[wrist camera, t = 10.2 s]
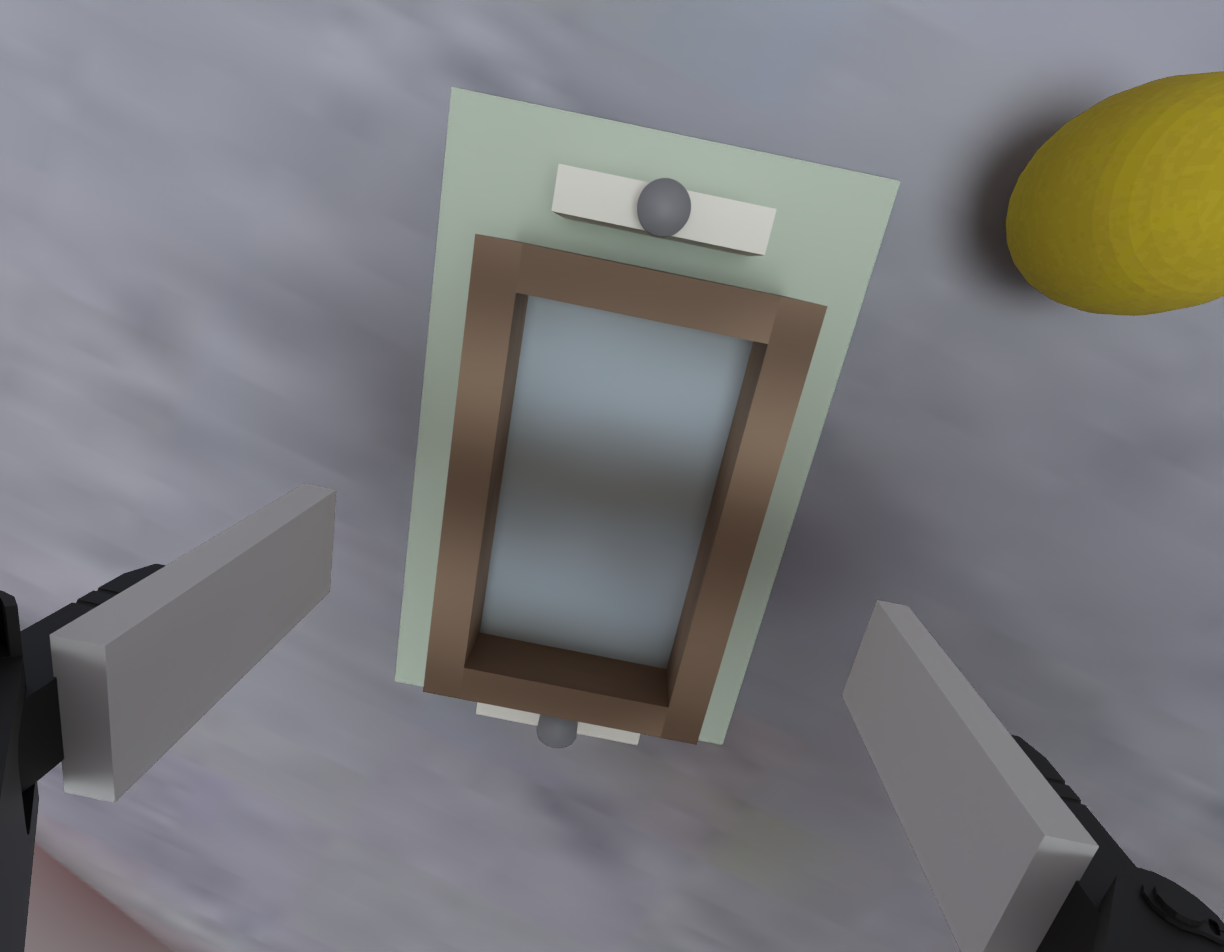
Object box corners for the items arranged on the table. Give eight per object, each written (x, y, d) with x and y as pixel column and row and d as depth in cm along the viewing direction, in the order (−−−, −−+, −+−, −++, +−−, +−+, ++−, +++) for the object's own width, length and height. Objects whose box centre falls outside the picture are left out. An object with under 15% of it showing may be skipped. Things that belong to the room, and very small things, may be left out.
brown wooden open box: (686, 653, 25) (696, 744, 20) (464, 609, 25) (423, 691, 20) (785, 296, 20) (827, 306, 16) (514, 240, 20) (475, 233, 16)
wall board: (720, 736, 27) (734, 821, 23) (399, 673, 27) (354, 748, 23) (894, 183, 20) (959, 162, 16) (456, 91, 19) (406, 45, 15)
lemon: (967, 124, 19) (1178, 35, 12) (1158, 108, 19) (1507, 3, 11) (948, 311, 21) (1121, 338, 13) (1123, 299, 20) (1404, 320, 13)
